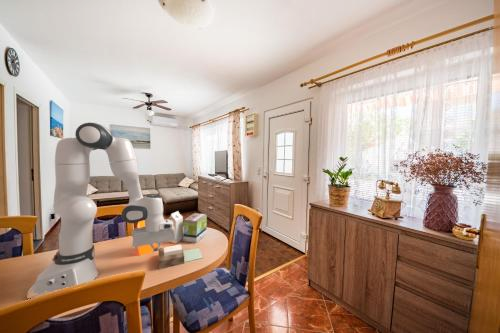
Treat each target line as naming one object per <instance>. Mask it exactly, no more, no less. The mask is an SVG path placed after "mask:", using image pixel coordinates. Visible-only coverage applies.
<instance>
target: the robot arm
mask: <svg viewBox="0 0 500 333" xmlns="http://www.w3.org/2000/svg"><path fill="white" fill-rule="evenodd" d="M74 135H75V137H64V138H62V139H60V140H59V141H57V143H56V147H55V153H54V154H55V155H54V168H55V169H54V170H55V186H54V187H55V188H54V192H53V193H54V195H53V205H52V208H53V211H54V213H55V214H57V215H58V216H59V217H60V221H61V222H60V230H59V234H58V245H59V246H58V247H59V249H58V250H57V251H56V252H55V254H54V255H53V257H52V258H51V259H52V263H51V264H50V265H48V266H47V267H46V268H44V269H43V270H42V271H41V272H40V273H39V274H38V276H37V277H36V280H35V283H33V285H31V287H30V288H29V289H28V291H27V293H28V292H31V291H34V292H33V293H38V294H37V295H34V296H31V297H29V299H28V300H31V299H30V298H32V299H34V298H33V297H36V296H39V295H43V294H46V293H49V292H53V291H55V290H59V289H63V288H66V287H71V286H74V285H78V284H81V283H84V282H88V281H91V282H92V281H94V280H95V279H96V278H97V277H98V276H99V270H98V268H97V265H96V262H95V261H96V260H95V256H96V253H95V252H96V251H95V246H94V244H93V242H94V241H93V228H94V223H95V222H94V221H95V217H96V215H97V213H98V207H97V204H96V203H95V201H94V200H93V199H91V198H90V197H88V195H87V193H88V186H89V184H90V181H91V167H90V166H91V165H90V162H91V161H90V154H91V152H92V151H95V150H103V151H105V153H106V155H107V158H108V162H109V167H110V170H111V172H112V175H113V176H114V177H115V178H117V179H118V180H120V181H122V182H123V183H124V184H125V186H126V190H127V193H128V197H129V201H128V204H127V205H126V206H124V208H123V209H122V211H121V218H122V220H123V221H124V222H125V223H128V224H136V223H138V222H140V221H143V220H145V227H141V228H137V227H134V229H132V231H131V232H130V233H131V237H132V247H134V248H138V247H140V246H145V245H150V247H151V248H152V249H153V252H152V253H155V252H159V249H160V248H161V245H162V243H163V242H167V241H170V240H175V238H176V233H175V228H174V226H173V222H172V220H167V219H166V218H164V215H163V214H164V204H163V198H162V196H161V195H158V194H154V193H149V194H146V195H144V193H143V189H142V186H141V181H140V176H139V167H138V160H137V157H136V156H137V155H136V153H135V148H134V147H133V144H132V142H131V141H130V139H128V138H126V137H120V136H119V137H118V136H117V137H115V136H114V135H113V133H112V132H111V130H110V129H108V128H107V127H105V125H102V124H100V123H99V124H98V123H97V122H86V123H85V122H84V123H83V124H80V125H79V126H77V128H76V130H75V134H74ZM155 243H157V246H156V247H154V246H153V244H155ZM154 251H155V252H154ZM95 277H96V278H95ZM45 291H47V292H45ZM43 292H44V293H43ZM27 293H26V294H27Z"/></svg>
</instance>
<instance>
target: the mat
mask: <svg viewBox="0 0 500 333" xmlns="http://www.w3.org/2000/svg"><path fill="white" fill-rule="evenodd" d="M183 253H184V263H187V262H192V261H196V260H200V259H201V260H202V259H204V257H203V254H202V252H201V250H200V248H199V247H198V248H197V247H196V248H190V249H187V250H183Z"/></svg>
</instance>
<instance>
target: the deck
mask: <svg viewBox="0 0 500 333" xmlns="http://www.w3.org/2000/svg"><path fill="white" fill-rule="evenodd" d="M183 251H184V250H183V249H182V253H179V254H174V255H169V256H164V247H159V251H158V269H159V270H163V269H166V268H171V267H175V266H180V265H183V264H185V262H184V253H183Z"/></svg>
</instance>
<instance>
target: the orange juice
mask: <svg viewBox="0 0 500 333" xmlns="http://www.w3.org/2000/svg"><path fill="white" fill-rule="evenodd" d="M141 227H145V220H143V221H140V222H137V227H136V228H141ZM153 246H154V247H156V246H158V243H155V244H153ZM137 250H138V254H139V256H144V255H147V254H151V253H155V252H156V251H154V252H153V249H152V248H151V247H150V245H145V246H140V247H137Z"/></svg>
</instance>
